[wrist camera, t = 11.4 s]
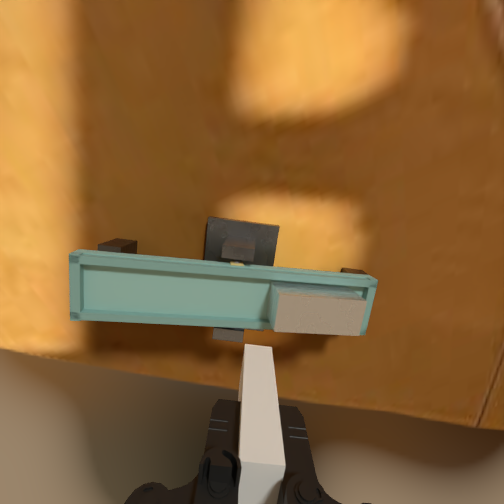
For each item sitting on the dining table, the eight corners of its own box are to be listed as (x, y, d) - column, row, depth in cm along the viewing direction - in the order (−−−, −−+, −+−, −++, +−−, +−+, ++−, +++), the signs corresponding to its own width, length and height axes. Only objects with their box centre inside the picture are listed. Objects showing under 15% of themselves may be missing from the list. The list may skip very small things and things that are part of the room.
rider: (271, 280, 26) (279, 294, 22) (348, 286, 27) (367, 301, 24) (266, 313, 26) (273, 331, 23) (341, 317, 28) (359, 335, 24)
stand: (117, 204, 31) (78, 207, 24) (369, 237, 31) (400, 249, 24) (115, 308, 34) (80, 337, 27) (346, 337, 34) (369, 373, 27)
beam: (79, 245, 24) (68, 250, 22) (369, 272, 28) (378, 277, 26) (79, 314, 25) (70, 323, 23) (355, 329, 29) (364, 337, 28)
